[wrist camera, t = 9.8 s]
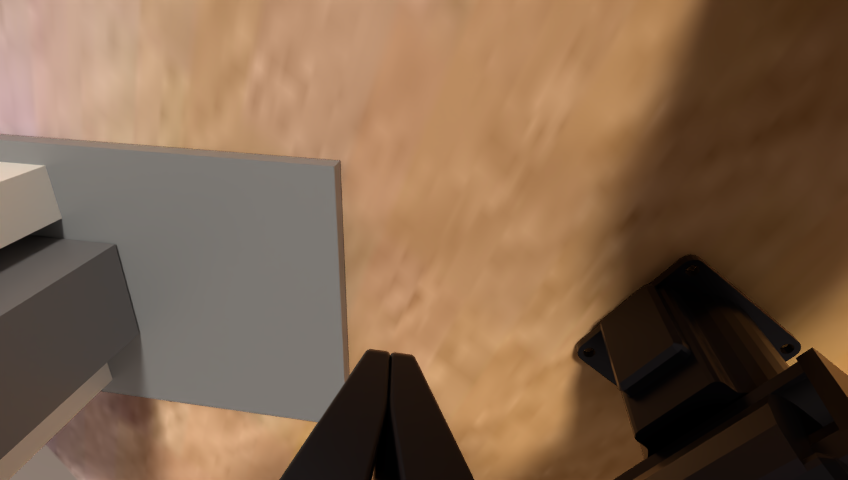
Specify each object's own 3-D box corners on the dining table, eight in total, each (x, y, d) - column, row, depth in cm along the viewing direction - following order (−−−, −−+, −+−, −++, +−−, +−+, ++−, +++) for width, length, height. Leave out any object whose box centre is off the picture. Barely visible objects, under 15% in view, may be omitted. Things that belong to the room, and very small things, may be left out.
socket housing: (340, 160, 20) (236, 261, 12) (350, 414, 26) (285, 589, 19) (-67, 129, 22) (-373, 198, 15) (31, 370, 29) (-147, 509, 21)
